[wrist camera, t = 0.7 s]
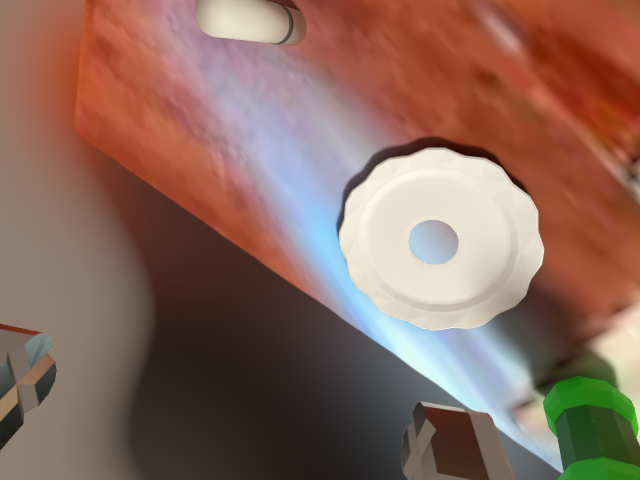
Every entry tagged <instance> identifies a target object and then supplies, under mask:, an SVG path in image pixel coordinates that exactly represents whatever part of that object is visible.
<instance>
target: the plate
mask: <svg viewBox="0 0 640 480" xmlns="http://www.w3.org/2000/svg"><path fill="white" fill-rule="evenodd" d="M425 220H439V221H442V222H445V223H447V224H448V225H449V226H451V227H452V228H453V229H454V231H455V232H456V234H457V236H458V240H459V246H458V251H457V252H456V254H455V256H454V257H453V258H452V259H451V260H449V261H448V262H446V263H443V264H439V265H431V264H426V263H424V262H421V261H420V260H418V259H417V258H416V257H415V256H414V255H413V254H412V252H411V250H410V248H409V244H408V238H409V234H410V232H411V230H412V229H413V228H414V227H415V225H417V224H418V223H420V222H422V221H425ZM339 246H340V248H341V251H342V253H343V255H344V257H345V259H346V263H347V268H348V274H349V276H350V278H351V280H352V281H353V283H354V284H355V286H356V287H357V288H358V289H360V290H361V291H362V292H363V293H365V294H366V295H367V296H368V297H369V298H370V299H371V301H372V302H373V303H374V304H375V306H376V307H377V308H378V309H379V310H381V311H382V312H384V313H385V314H387V315H388V316H390V317H394V318H398V319H402V320H405V321H408V322H409V323H411V324H413V325H415V326H417V327H419V328H422V329H428V330H434V331H437V330H442V329H448V328H466V329H471V328H475V327H478V326H481V325H485V324H486V323H487V322H489V321H490V320H491V319H492V318H494V317H495V316H496V315H497V314H499V313H502V312H504V311H506V310H509V309H511V308H513V307H515V306H516V305H517V304H518V303H519V302H520V301H521V300H522V299H523V298H524V297H525V296H526V293H527V290H528V287H529V284H530V281H531V279H532V277H533V276H534V275H535V273H536V272H537V270H538V269H539V268H540V266H541V265H542V261H543V254H544V246H543V243H542V240H541V238H540V235H539V232H538V210H537V208H536V207H535V205H534V203H533V201H532V199H531V197H530V196H529V195H528V194H527V193H525V192H524V191H523V190H521V189H520V188H519V187H517V186H516V185H515V184H513V182H512V181H511V180H510V178H509V177H508V176H507V174H506V173H505V171H504V170H503V169H502V167H501V166H499V165H497V164H495V163H493V162H492V161H490V160H488V159H486V158H481V157H473V156H465V155H462V154H459V153H457V152H454V151H452V150H450V149H447V148H425V149H423V150H420V151H418V152H416V153H413V154H411V155H407V156H399V157H392V158H388V159H387V160H385V161H383V162H381V163H380V164H378V165H376V166H375V168H374V169H373V170H372V172H371V173H370V174H369V176H368V177H367V178H366V180H365V181H363V182H362V183H361V184H359V185H358V186H357V187H356V188H354V189H353V190H352V191H351V193H350V195H349V197H348V198H347V200H346V202H345V213H344V220H343V223H342V225H341V228H340V230H339Z"/></svg>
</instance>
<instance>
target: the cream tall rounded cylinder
mask: <svg viewBox="0 0 640 480" xmlns="http://www.w3.org/2000/svg"><path fill="white" fill-rule="evenodd" d="M195 15H196V19H197V22H198V24H199V26H200V28H201V29H202V30H203V31H204V32H205V33H206V34H208V35H210V36H213V37H221V38H230V39H239V40H247V41H256V42H264V43H270V44H282V45H290V46H293V45H297V44H299V43H300V42H301V41H302V40H303V38H304V36H305V34H306V21H305V18H304V16H303V15H302V13H301V12H299V11H298V10H296V9H293V8H289V7H286V6H284V5H281V4H278V3H273V2H270V1H266V0H196V2H195Z"/></svg>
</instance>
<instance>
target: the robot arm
mask: <svg viewBox="0 0 640 480" xmlns="http://www.w3.org/2000/svg"><path fill="white" fill-rule="evenodd" d="M51 347H52V343H51V340H50V336H49V335H48V334H45V333H42V332H37V331H32V330H27V329H23V328H18V327H13V326H9V325H4V324H0V450H1V449H2V448H3V447H4V446H5V445H6V443H7V442H8V441H9V440H10V439H11V438H12V437H13V435H14V434H15V433H16V432H17V431H18V429H19V428H20V427H21V426H22V425H23V423H24V413H26V412H28V411H30V410H32V409H33V408H35V407H37V406H39V405H40V404H41V403H42V402H43V400H44V399H45V398H46V397H47V395H48V394H49V392H50V390H51V388H52V386H53V384H54V382H55V378H56V371H57V369H56V363H55V361H54V360H53V359H52V358H51V357H50V356H49V355H48V353H47V352H48V351H49V350H50V349H51ZM413 418H414V422H413V423H412V424H410V425H408V426H407V428H406V430H405V433H404V436H403V441H402V448H401V461H402V470H403V473H404V474H405V476H406V477H407V478H408V480H515V477H514V475H513V472H512V469H511V467H510V464H509V462H508V459H507V456H506V454H505V451H504V448H503V446H502V443H501V440H500V438H499V435H498V433H497V430H496V427H495V425H494V422H493V419H492V417H491V416H490V415H489V414H488V413H482V412H477V411H471V410H466V409H465V410H463V409H460V408H455V407H449V406H443V405H437V404H432V403H426V402H418V403H417V404H416V406H415V408H414V411H413Z"/></svg>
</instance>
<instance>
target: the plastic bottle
mask: <svg viewBox="0 0 640 480" xmlns="http://www.w3.org/2000/svg"><path fill="white" fill-rule="evenodd" d="M543 405H544V411H545V414H546V418H547V422H548V426H549V428H550V430H551V431H552V432H553V434H554V435H555V436H556V437H557V438H558V443H559V448H560V454H561V459H562V465H563V470H564V472H563V473H562V475H561V476H560V477H559V478H558V479H557V480H640V446H639V443H638V441H637V438H636V437H637V434H638V423H637V418H636V413H635V408H634V406H633V404H632V401H631V400H630V399H629V398H627V397H626V396H625V395H624V394H622V393H621V392H620V391H618V390H617V389H616V388H614V387H613V386H612V385H610V384H609V383H608V382H606V381H604V380H599V379H594V378H588V377H582V376H576V377H573V378H569V379H566V380H562V381H559V382H556V384H555V385H554V386H553V388H552V389H551V390H550V392H549V393H548V394H547V396H546V397H545V399H544V401H543Z"/></svg>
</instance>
